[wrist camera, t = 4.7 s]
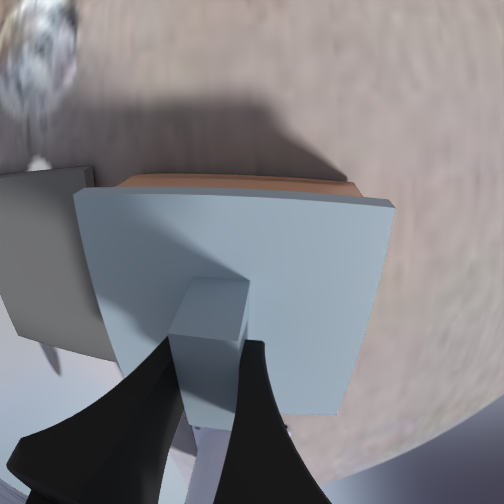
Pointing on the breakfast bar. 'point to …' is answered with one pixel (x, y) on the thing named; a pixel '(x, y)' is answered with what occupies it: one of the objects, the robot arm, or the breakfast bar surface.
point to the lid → (237, 286)
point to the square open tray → (243, 183)
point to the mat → (49, 262)
